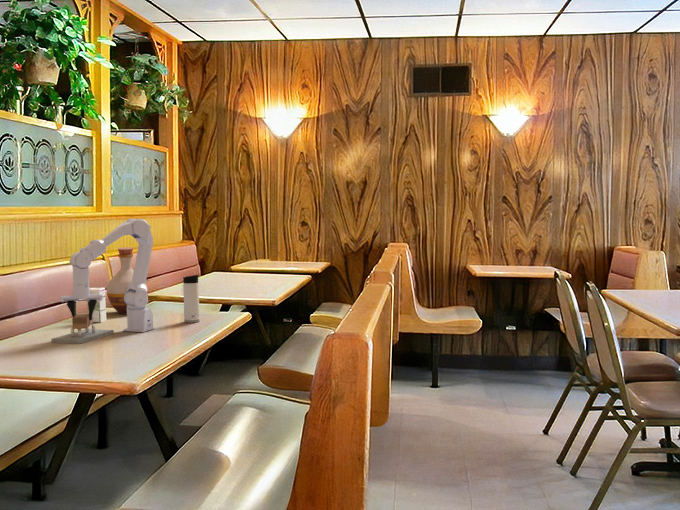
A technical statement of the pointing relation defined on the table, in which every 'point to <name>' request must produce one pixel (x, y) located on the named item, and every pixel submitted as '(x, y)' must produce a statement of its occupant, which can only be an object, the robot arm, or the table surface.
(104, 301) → the syrup box
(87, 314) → the copper brown rectangular block
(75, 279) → the robot arm
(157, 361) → the table surface
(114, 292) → the jug
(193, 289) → the travel mug
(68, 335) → the peg plate
